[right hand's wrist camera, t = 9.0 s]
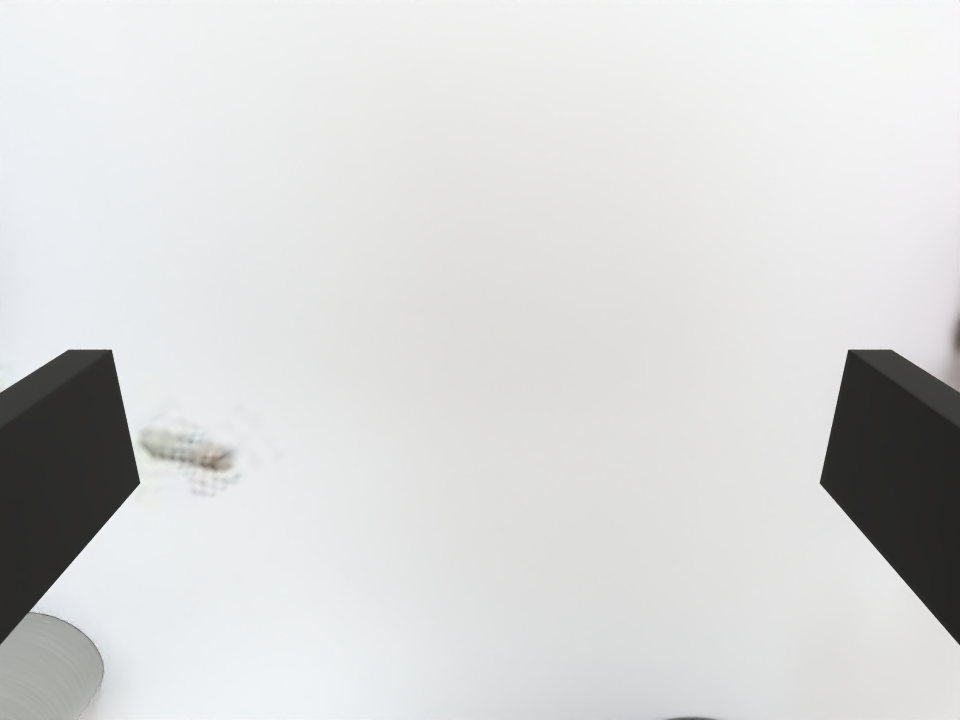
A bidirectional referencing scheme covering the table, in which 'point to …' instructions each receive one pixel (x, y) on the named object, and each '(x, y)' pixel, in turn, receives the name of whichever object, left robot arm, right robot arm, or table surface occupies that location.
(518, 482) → the table surface
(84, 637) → the jar
